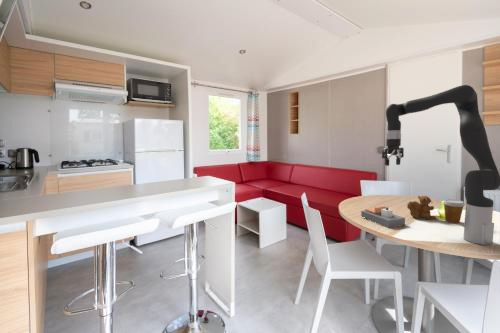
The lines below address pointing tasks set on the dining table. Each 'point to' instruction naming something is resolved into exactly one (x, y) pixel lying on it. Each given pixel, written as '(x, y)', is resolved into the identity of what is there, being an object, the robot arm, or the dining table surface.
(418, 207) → the stuffed squirrel
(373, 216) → the socket block
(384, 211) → the plug
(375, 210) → the shutter
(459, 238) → the dining table surface
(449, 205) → the disposable coffee cup
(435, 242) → the dining table surface
